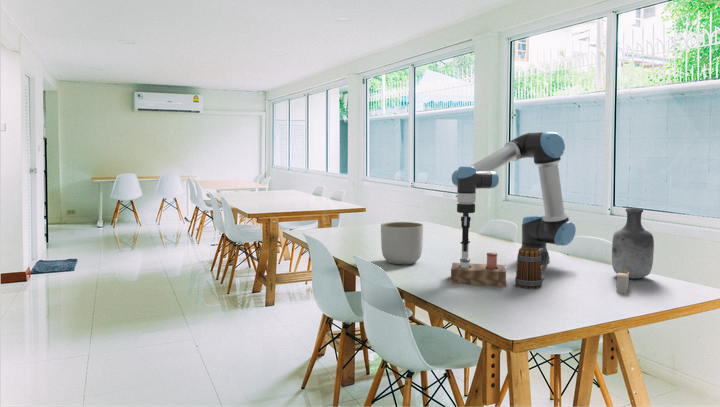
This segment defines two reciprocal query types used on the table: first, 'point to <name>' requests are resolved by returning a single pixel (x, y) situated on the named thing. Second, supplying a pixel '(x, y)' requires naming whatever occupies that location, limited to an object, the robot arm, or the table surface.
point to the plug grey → (464, 263)
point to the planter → (401, 242)
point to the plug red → (491, 260)
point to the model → (623, 281)
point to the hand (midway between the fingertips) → (464, 258)
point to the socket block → (478, 275)
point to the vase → (633, 247)
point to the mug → (530, 268)
